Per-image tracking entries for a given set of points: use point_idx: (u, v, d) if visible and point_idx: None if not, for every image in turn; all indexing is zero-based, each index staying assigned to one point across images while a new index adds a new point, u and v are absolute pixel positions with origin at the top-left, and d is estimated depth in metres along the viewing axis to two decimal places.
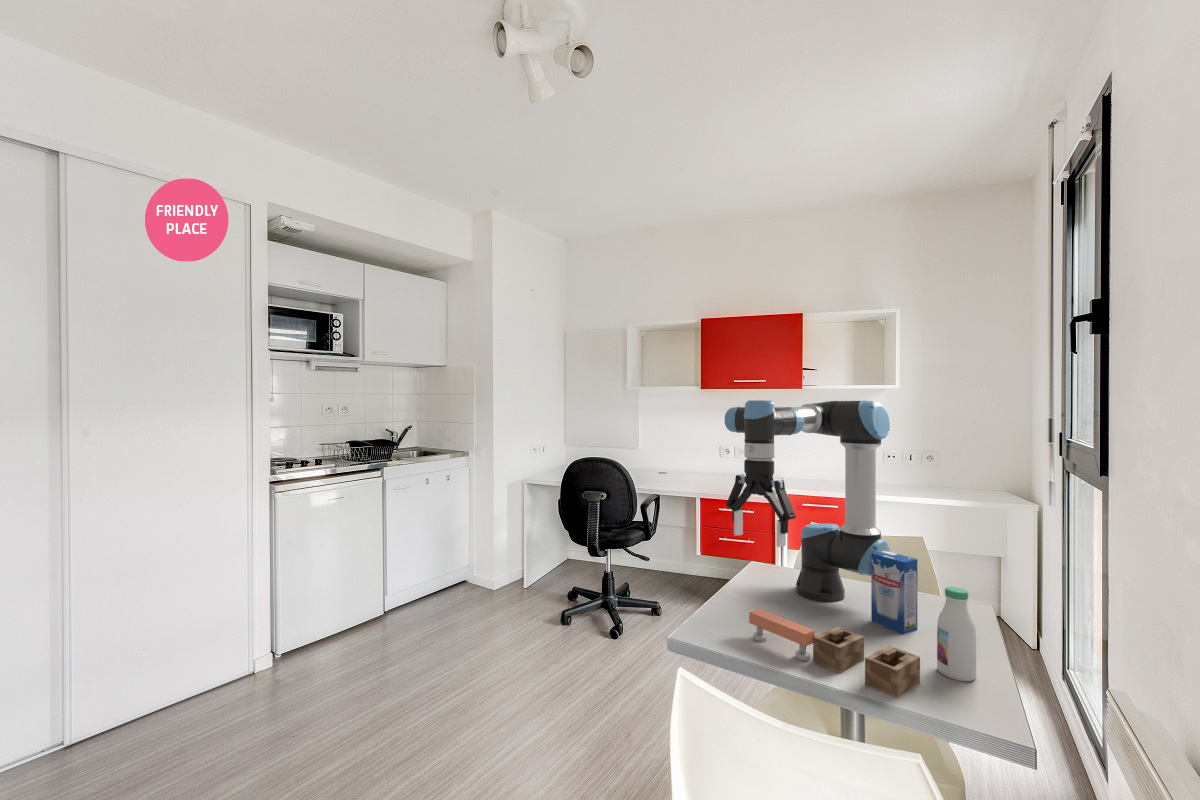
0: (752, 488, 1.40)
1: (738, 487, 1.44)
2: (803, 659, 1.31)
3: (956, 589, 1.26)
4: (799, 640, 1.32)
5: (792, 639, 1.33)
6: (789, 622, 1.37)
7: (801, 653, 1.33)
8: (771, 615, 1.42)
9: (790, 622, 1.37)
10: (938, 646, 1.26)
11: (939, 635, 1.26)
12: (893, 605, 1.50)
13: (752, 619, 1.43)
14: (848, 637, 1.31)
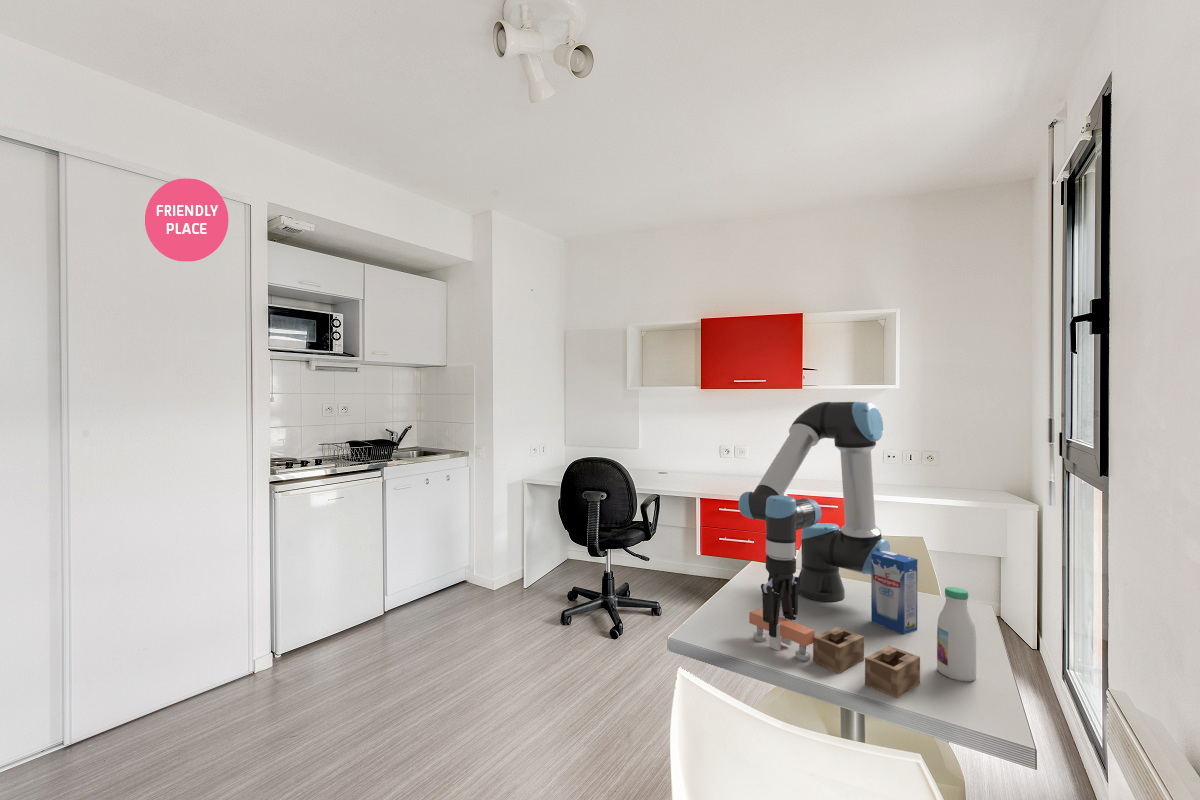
0: None
1: None
2: (803, 659, 1.31)
3: (956, 589, 1.26)
4: (799, 640, 1.32)
5: (792, 639, 1.33)
6: (789, 622, 1.37)
7: (801, 653, 1.33)
8: None
9: (790, 622, 1.37)
10: (938, 646, 1.26)
11: (939, 635, 1.26)
12: (893, 605, 1.50)
13: (752, 619, 1.43)
14: (848, 637, 1.31)
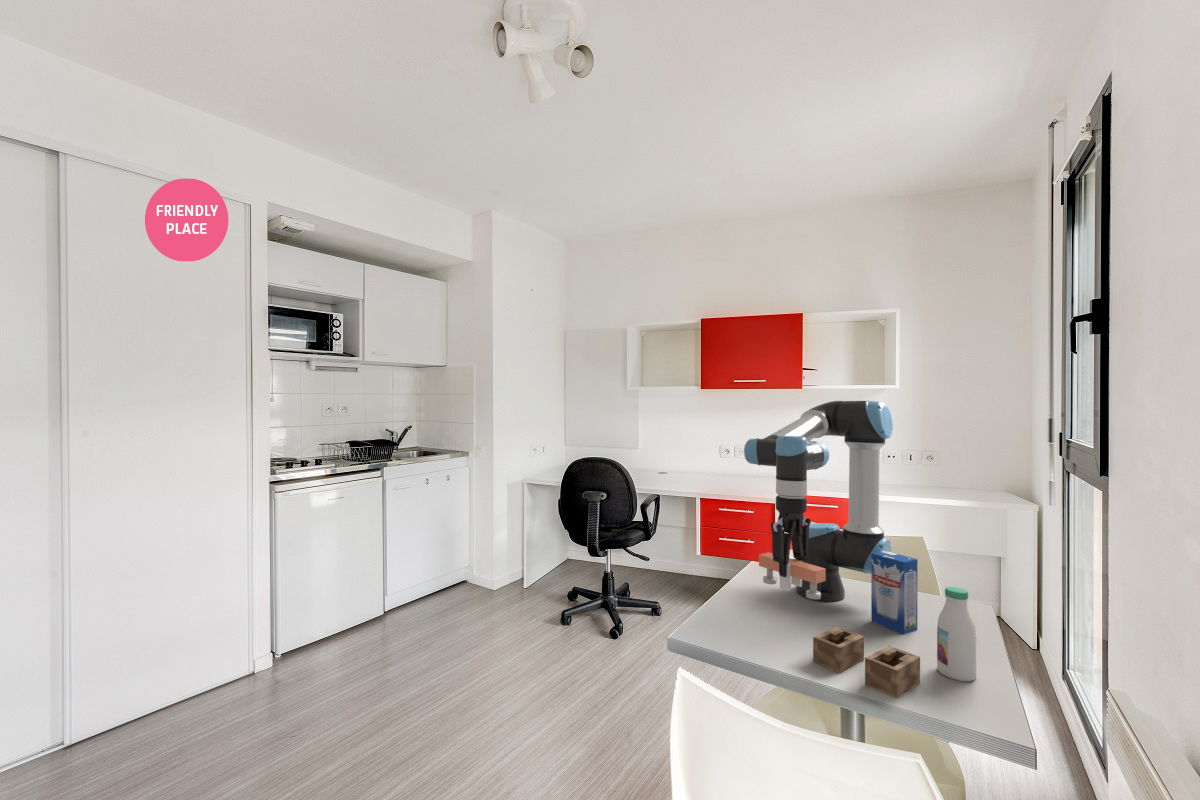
0: None
1: None
2: (814, 597, 1.30)
3: (956, 589, 1.26)
4: (809, 578, 1.30)
5: (802, 578, 1.31)
6: (799, 562, 1.35)
7: (812, 591, 1.31)
8: None
9: (800, 562, 1.35)
10: (938, 646, 1.26)
11: (939, 635, 1.26)
12: (893, 605, 1.50)
13: (762, 561, 1.42)
14: (848, 637, 1.31)
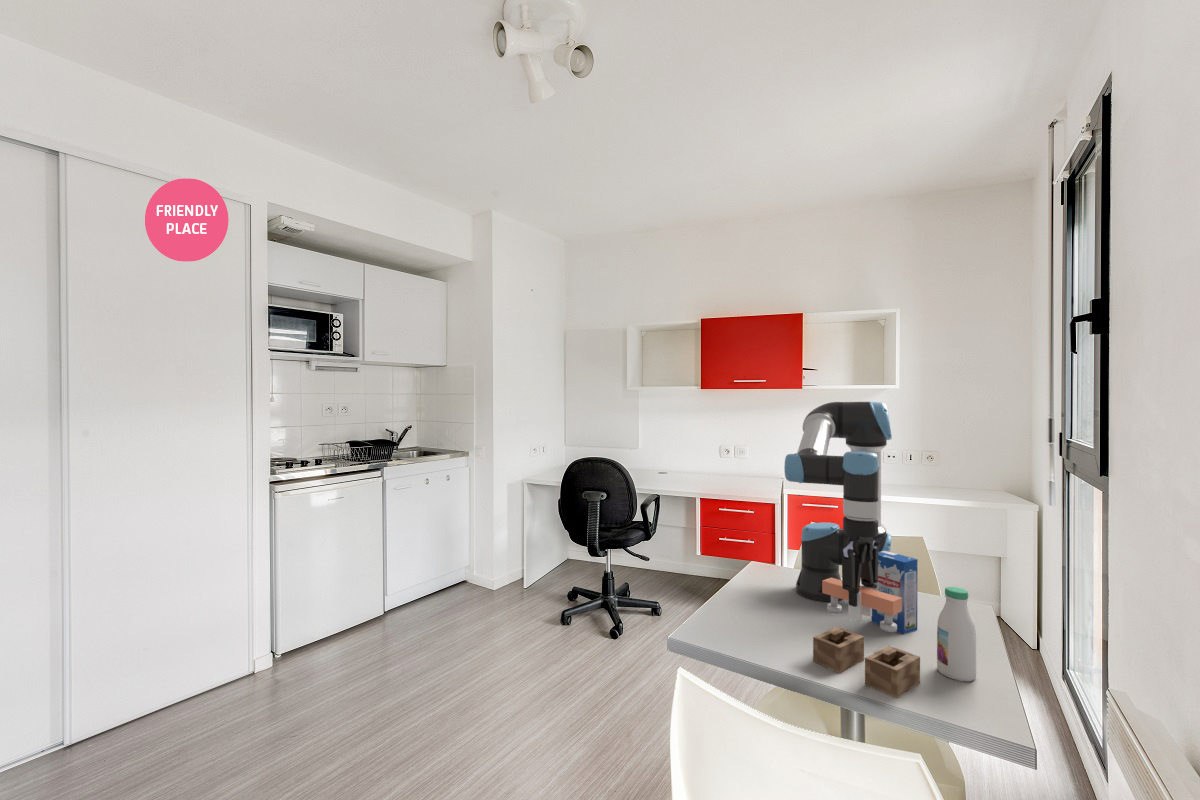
0: None
1: None
2: (890, 629, 1.18)
3: (956, 589, 1.26)
4: (885, 609, 1.19)
5: (877, 608, 1.20)
6: (870, 590, 1.24)
7: (887, 623, 1.19)
8: None
9: (872, 590, 1.24)
10: (938, 646, 1.26)
11: (939, 635, 1.26)
12: None
13: (826, 588, 1.30)
14: (848, 637, 1.31)
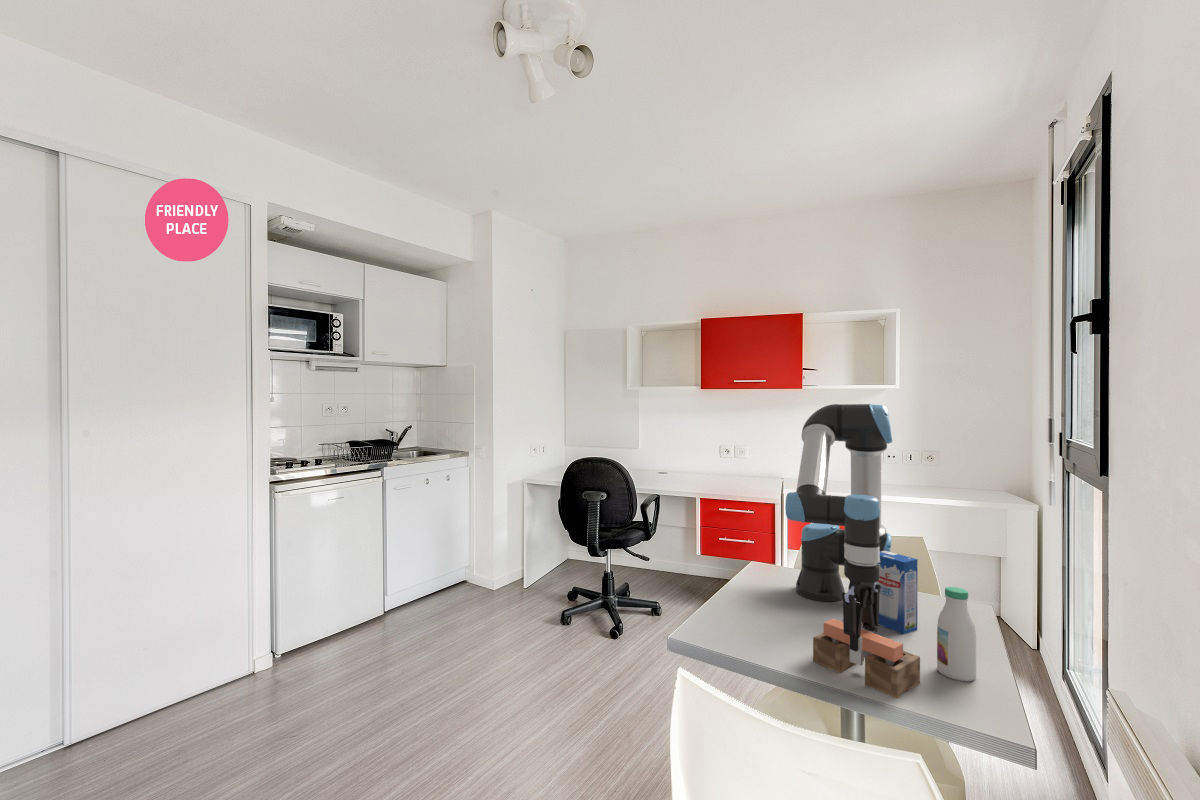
0: None
1: None
2: None
3: (956, 589, 1.26)
4: (886, 655, 1.19)
5: (878, 653, 1.21)
6: (872, 634, 1.25)
7: None
8: None
9: (873, 634, 1.25)
10: (938, 646, 1.26)
11: (939, 635, 1.26)
12: (893, 605, 1.50)
13: (827, 630, 1.31)
14: None
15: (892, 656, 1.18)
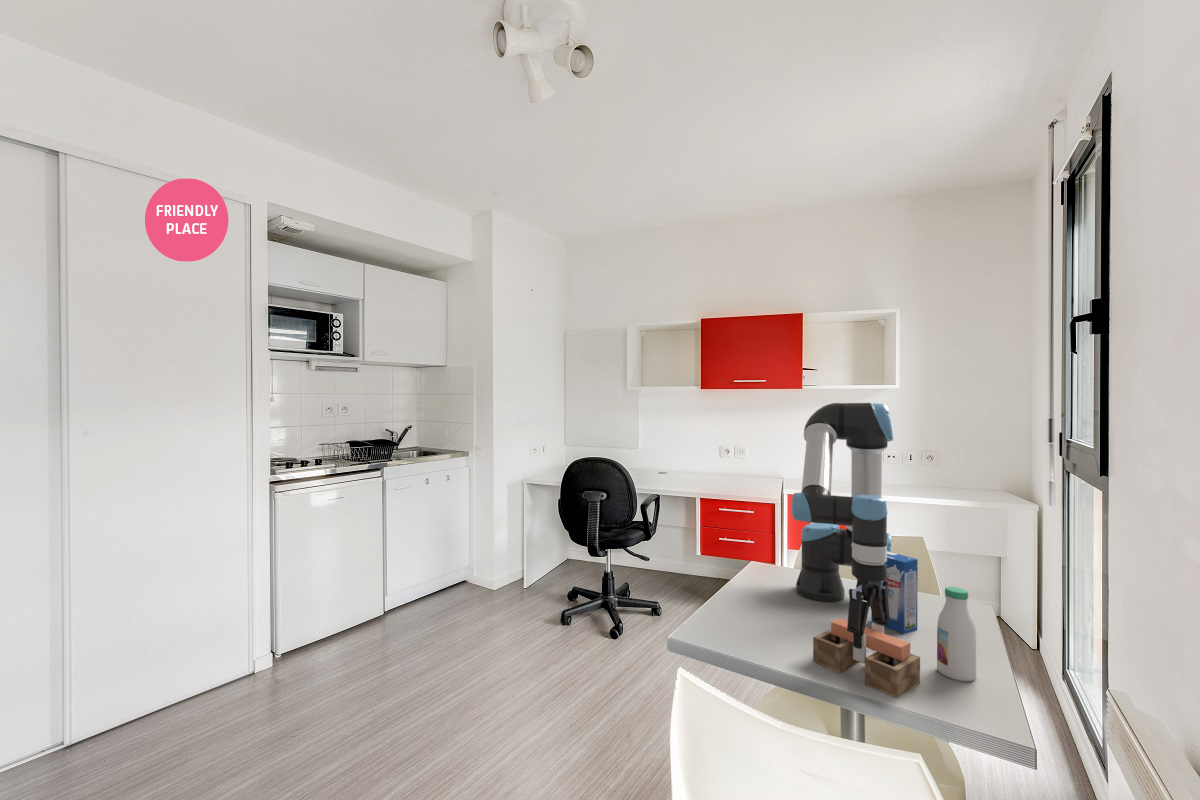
0: None
1: None
2: None
3: (956, 589, 1.26)
4: (894, 654, 1.21)
5: (885, 652, 1.22)
6: (879, 633, 1.27)
7: None
8: None
9: (880, 633, 1.27)
10: (938, 646, 1.26)
11: (939, 635, 1.26)
12: (893, 605, 1.50)
13: (835, 630, 1.32)
14: None
15: (899, 655, 1.20)
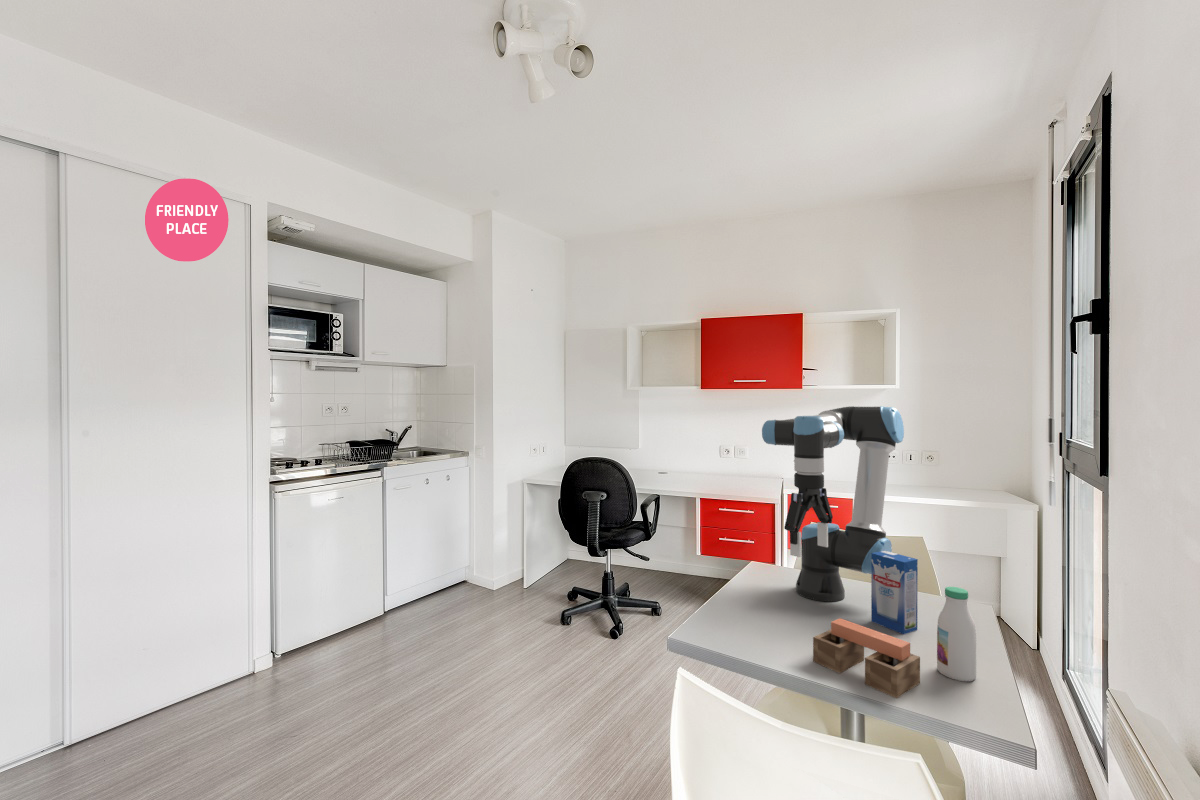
0: None
1: None
2: None
3: (956, 589, 1.26)
4: (894, 654, 1.21)
5: (885, 652, 1.22)
6: (879, 633, 1.27)
7: None
8: (856, 626, 1.31)
9: (880, 633, 1.27)
10: (938, 646, 1.26)
11: (939, 635, 1.26)
12: (893, 605, 1.50)
13: (835, 630, 1.32)
14: None
15: (899, 655, 1.20)
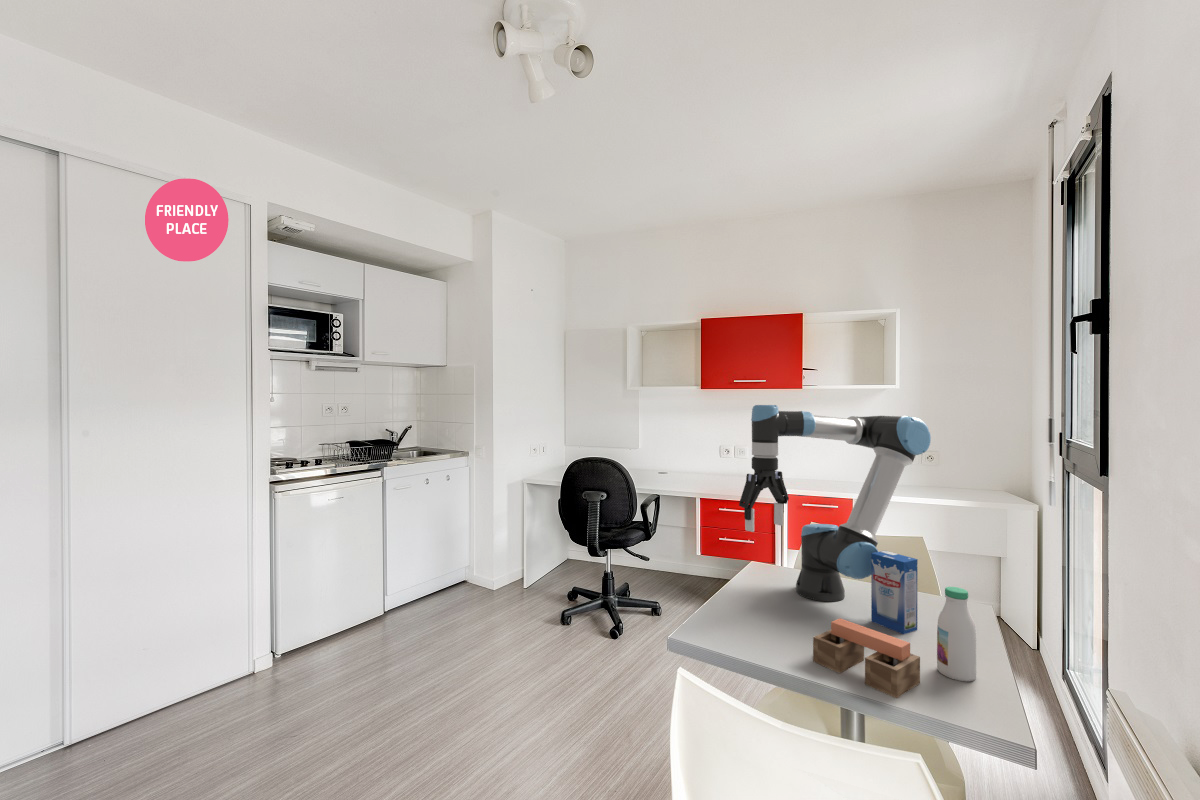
0: None
1: (775, 482, 1.63)
2: None
3: (956, 589, 1.26)
4: (894, 654, 1.21)
5: (885, 652, 1.22)
6: (879, 633, 1.27)
7: None
8: (856, 626, 1.31)
9: (880, 633, 1.27)
10: (938, 646, 1.26)
11: (939, 635, 1.26)
12: (893, 605, 1.50)
13: (835, 630, 1.32)
14: None
15: (899, 655, 1.20)
